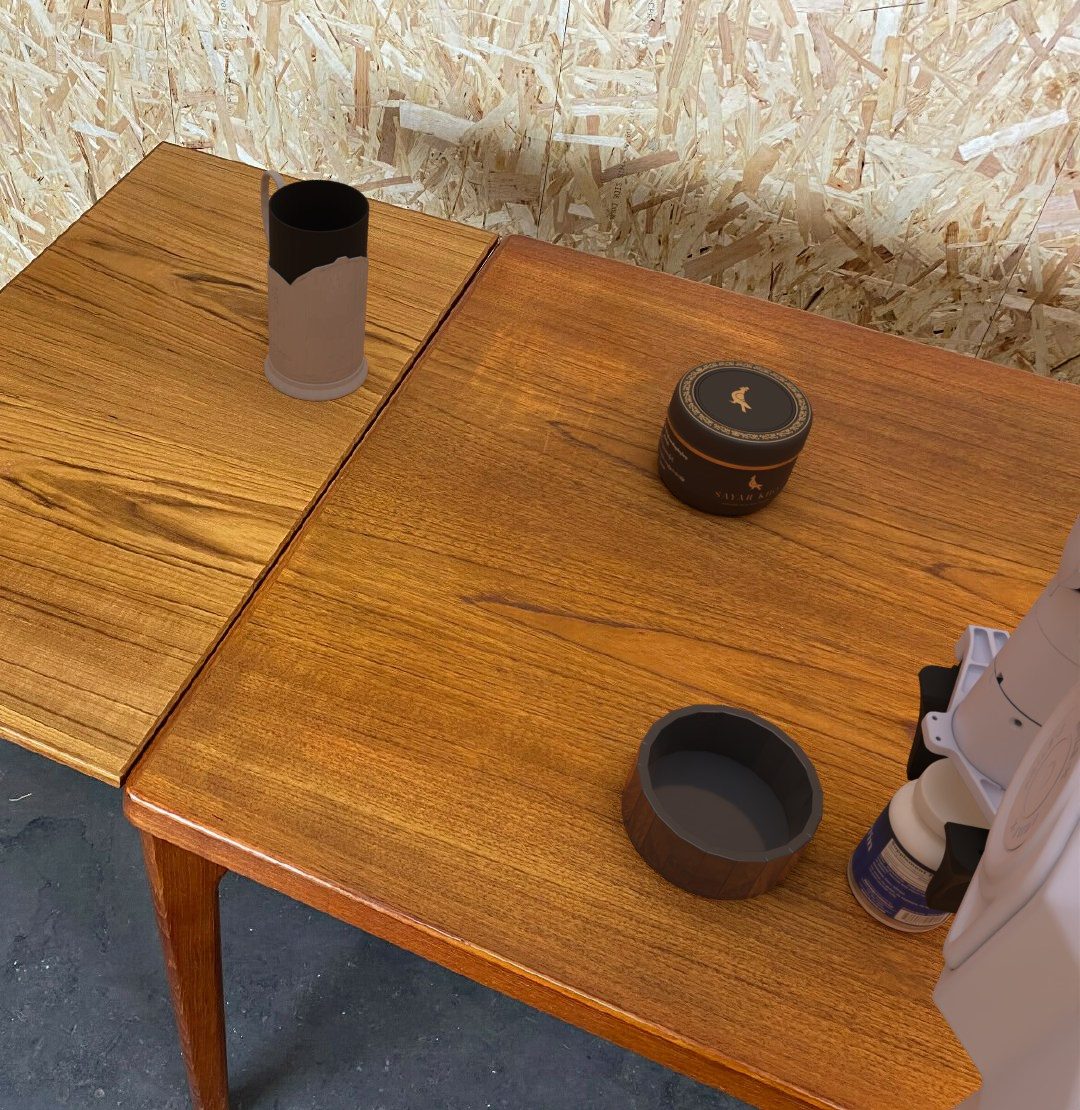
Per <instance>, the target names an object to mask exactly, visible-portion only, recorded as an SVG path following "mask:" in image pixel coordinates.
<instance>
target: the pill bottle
mask: <svg viewBox="0 0 1080 1110" xmlns="http://www.w3.org/2000/svg"><path fill="white" fill-rule="evenodd" d="M947 822H953V823H959V824H964V825H969V826H974V827H979V828H985V829H990V828H991V826H990V825H989V823H988V821H987V820H986V818H985V816H984V815H983V813H982V811H981V810H980V808H979V806H978V804H977V803H976V801H975V799H974V798H973V796H972V794H971V793H970V791H969V789H968V788H967V786H966V784H965V782H964V781H963V779H962V777H961V776H960V774H959V772H958V771H957V769H956V767H955V766H954V764H953V762H952V761H951V759H950V758H945V759H941V760H938V761H936V762H934V763H932V764H931V765H930V766H929V767H928V768H927V769H926V770H925V771H924V772H923V774H922V775H921V776H920V777H919V779H916V780H913V781H909V782H907V783H905V784H903V785H902V786H900V788H898V790H897V791H896V792H895V793H894V794H893V795H892V797H891V798H890V799H889V801H888V802H887V804H886V805H885V807H884V808H883V810H882V811H881V812H880V814H878V816H877V818H876V819H875V821H874V822H873V823H872V825H871V827H869V829H868V830H867V832H866V833H865V835H863V837H862V838H861V840H860V841H859V842H858V844H857V845H856V847H854V850H853V851H852V853H851V855H850V856H849V859H848V863H847V874H846V875H847V881H848V884H849V887H850V890H851V891H852V894H853V896H854V897H855V899H856V900H857V902H858V903H859V904H860V906H861V907H862V908H863V909H864V910H865V911H866V912H867V913H868V914H869V915H871V916H872V917H873V918H874V919H876V920H877V921H878V922H880V923H882V924H884V925H885V926H887V927H889V928H892V929H894V930H898V931H901V932H906V933H924V932H925V933H926V932H928V931H932V930H935V929H937V928H938V927H940V926H941V925H943V924H944V923H945V922H947V920H948V919H949V918H950V917H951V916H952V915H953V913H948V912H943V911H938V910H933V909H929V908H928V907H927V905H926V898H925V893H926V889H927V886H928V884H929V882H930V880H931V879H932V877H933V876H934V874H935V873H936V871H937V869H938V868H939V866H940V864H941V861H942V859H943V856H944V852H945V846H946V835H945V829H944V825H945V824H946V823H947Z"/></svg>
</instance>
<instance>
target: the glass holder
mask: <svg viewBox="0 0 1080 1110" xmlns="http://www.w3.org/2000/svg"><path fill="white" fill-rule="evenodd" d="M271 178H272V180H273V182H274V183H275V186H276V189H277V190H276V191H274V192H273V193H272V195H271V196H270V179H271ZM259 193H260V209H261V217H262V224H263V225H262V226H263V229H264V234H265V239H266V245H267V249H268V253H269V254H268V255H269V256H268V258H267V261H266V268H267V269H266V271H267V272H266V273H267V320H268V321H267V322H268V326H267V327H268V329H267V330H268V352H267V354H266V356H265V358H264V363H263V374H264V376H265V378H266V380H267V381H268V382H269V384H270V385H271V386H272V388H274V389H276V390H277V391H278V392H280V393H282V394H284V395H286V396H288V397H291V398H294V399H299V400H302V401H312V402H325V401H331V400H336V399H340V398H343V397H345V396H349V395H350V394H352V393H353V392H355V391H356V390H358V389H359V388H360V387H361V386H362V385H363V384H364V383H365V382H366V379H367V377H368V374H369V364H368V360H367V358H366V356H365V337H366V322H367V321H366V319H367V318H366V317H367V304H368V303H367V302H368V284H369V282H368V281H369V268H370V267H369V264H370V263H369V254H368V243H369V238H368V237H369V225H370V224H369V223H370V202H369V200H368V197H366V196H365V194H364V193H362V191H360V190H359V189H357V188H355V187H353V186H351V185H349V184H346V183H344V182H340V181H334V180H330V179H304V180H297V181H294V182H290V183H288V184H286V182H285V180H284V178H283V177H282V175H281V174H280V173H279V172H278V170H274V169H269V170H266V171H264V172H262V174H261V177H260V190H259Z"/></svg>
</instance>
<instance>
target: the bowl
mask: <svg viewBox="0 0 1080 1110" xmlns="http://www.w3.org/2000/svg"><path fill="white" fill-rule="evenodd" d="M823 814H824V789H823V788H822V784H821V781H820V778H819V774H818V772H817V769H816V767H815V765H814V764H813V762H812V761H811V759H810V758H809V757H808V755H807V754H806V753H805V751H804V750H803V748H802V747H801V745H799V743H798V742H796V741H795V740H794V739H793V738H792V737H790V736H789V734H787V733H786V732H785V731H784V730H782V729H781V728H780V727H779V726H777V725H776V724H774V723H773V722H771V721H769V720H767V719H765V718H764V717H761V716H760V715H758V714H756V713H754V712H751V711H749V710H745V709H741V708H737V707H735V706H730V705H726V704H715V703H714V704H713V703H712V704H710V703H708V704H707V703H697V704H695V703H694V704H691V705H688V706H684V707H679V708H676V709H673V710H670V711H669V712H668V713H666V714H664V715H663V716H662V717H661V718H659V719H657V720H655V722H654V723H653V724H651V726H650V727H649V729H648V731H647V732H646V733H645V735H644V737H643V738H642V740H641V741H640V744H639V746H638V748H637V752H636V754H635V756H634V758H633V761H632V763H631V766H630V768H629V771H628V774H627V776H626V779H625V781H624V787H623V790H622V795H621V815H622V821H623V825H624V827H625V830H626V831H625V832H626V833H627V835H628V837H629V839H630V841H631V844H632V845H633V847H634V848H635V850H636V851H637V853H638V854H639V855H640V857H641V858H642V859H643V860H644V862H645V863H646V864H647V865H648V866H649V867H650V868H651V869H652V870H653V871H654V872H656V873H657V874H658V875H659V876H661V877H662V878H663V879H665V880H666V881H668V882H669V883H671V884H672V885H674V886H676V887H678V888H680V889H681V890H684V891H686V892H688V893H691V894H694V895H696V896H700V897H704V898H707V899H712V900H719V901H738V900H746V899H750V898H754V897H757V896H761V895H762V894H764V893H767V892H768V891H771V890H772V889H774V888H775V887H776V886H778V885H779V884H780V883H781V882H782V881H783V880H784V878H786V877H787V876H788V875H789V874H790V873H791V871H792V870H793V868H794V866H795V865H796V864H797V862H798V861H799V859H800V858H801V856H802V854H803V853H804V851H805V850H806V849H807V847H808V846H809V844H810V842H811V841H812V839H813V838H814V836H815V834H816V832H817V830H818V827H819V826H820V824H821V821H822V820H823Z"/></svg>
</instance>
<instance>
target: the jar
mask: <svg viewBox="0 0 1080 1110" xmlns="http://www.w3.org/2000/svg"><path fill="white" fill-rule="evenodd" d="M813 421H814V412H813V408H812V404H811V402H810V400H809V398H808V397H807V395H806V393H804V392H803V390H802V389H801V388H800V387H799V386H798V385H797V384H796V383H795V382H793V381H792V380H791V379H790V378H788V377H786V376H785V375H783V374H781V373H779V372H778V371H775V370H773V369H771V368H768V367H766V366H763V365H760V364H756V363H753V362H749V361H741V360H733V359H732V360H731V359H725V360H722V359H721V360H713V361H707V362H704V363H701V364H698V365H696V366H693V367H691V368H690V369H688V370H687V371H686V372H685V373H684V374H683V375H682V376H681V377H680V379H679V380H678V381H677V383H676V385H675V388H674V390H673V393H672V395H671V397H670V399H669V401H668V403H667V407H666V416H665V420H664V423H663V425H662V430H661V431H660V432H661V433H660V435H659V440H658V443H657V453H656V454H657V468H658V473H659V476H660V478H661V479H662V481H663V482H664V484H665V485H666V487H667V488H668V489H669V491H670V492H671V493H672V494H673V495H674V496H675V497H676V498H678V499H679V500H680V501H682V502H683V503H685V504H687V505H688V506H690V507H693V508H694V509H697V510H700V511H702V512H705V513H708V514H713V515H718V516H741V515H742V516H743V515H747V514H750V513H754V512H757V511H759V510H761V509H763V508H765V507H767V506H769V504H770V503H771V502H773V500H775V498H777V496H779V494H780V493H781V492H782V491H783V490H784V488H785V487H786V485H787V483H788V481H789V479H790V477H791V474H792V472H793V470H794V467H795V465H796V463H797V460H798V458H799V456H800V454H801V453H802V452H803V450H804V448H805V446H806V443H807V440H808V437H809V434H810V432H811V429H812V426H813Z"/></svg>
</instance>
